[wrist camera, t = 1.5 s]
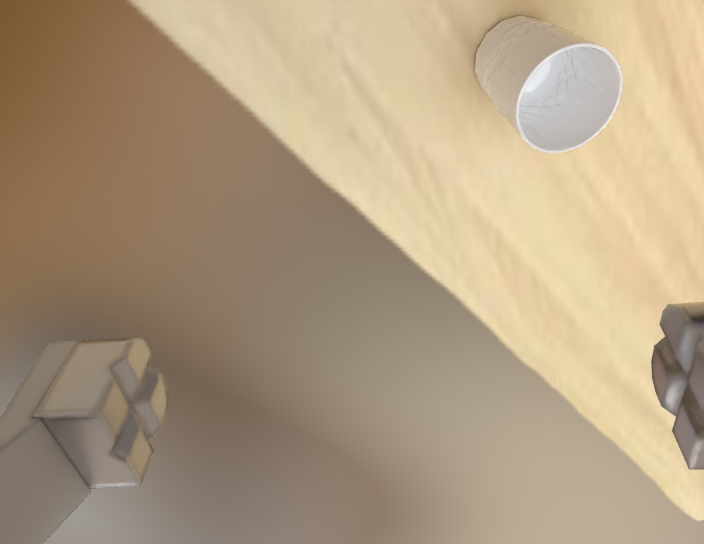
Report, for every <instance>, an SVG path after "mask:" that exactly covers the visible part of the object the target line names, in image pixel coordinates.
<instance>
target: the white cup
mask: <svg viewBox="0 0 704 544" xmlns="http://www.w3.org/2000/svg"><path fill="white" fill-rule="evenodd" d="M474 71H475V73H476V76H477V79H478V82H479V85H480V87H481V88H482V89H483V90H484V91H485V92H486V93H487V95H488V96H489V98H490V99H491V101H492V102H493V104H494V105H495V106H496V107H497V108H498V110H499V111H500V113H501V114H502V115H503V116H504V117H505V118H506V120H507V121H508V122H509V123H510V124H511V125H512V126H513V128H514V129H515V130H516V131H517V132H518V133H519V135H520V136H521V137H522V138H523V139H524V140H525V142H526V143H527V144H529V145H530V146H531V147H533V148H534V149H536V150H539V151H542V152H546V153H562V152H567V151H570V150H573V149H576V148H578V147H580V146H582V145H584V144H586V143H587V142H589V141H590V140H591V139H593V138H594V137H595V136H596V135H598V134H599V133H600V132H601V131H602V130H603V129H604V127H605V126H606V125H607V124H608V123H609V121H610V120H611V118H612V117H613V115H614V113H615V111H616V109H617V107H618V105H619V102H620V99H621V95H622V90H623V75H622V70H621V67H620V64H619V62H618V60H617V59H616V57H615V56H614V55H613V54H612V53H611V52H610V51H609V50H607V49H606V48H604V47H602V46H600V45H598V44H595V43H593V42H591V41H589V40H587V39H584V38H582V37H580V36H578V35H576V34H574V33H572V32H569V31H567V30H565V29H562V28H560V27H557V26H555V25H552V24H550V23H547V22H543V21H541V20H539V19H536V18H531V17H527V16H522V15H519V16H515V17H512V18H509V19H505V20H502V21H501V22H500V23H498V24H497V25H496V26H495V27H494V28H492V29H491V30H490V31H489V32H488V33H486V35H485V37H484V39H483V41H482V42H481V44H480V46H479V48H478V50H477V52H476V60H475V68H474Z"/></svg>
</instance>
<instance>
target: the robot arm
mask: <svg viewBox="0 0 704 544" xmlns="http://www.w3.org/2000/svg"><path fill="white" fill-rule="evenodd" d="M660 326H661V328H662V330H663V332H664V334H665V337H664V338H663V339H662V340H660V341H659V342H658V343H657V344H656V345H655V346H654V351H653V356H652V361H651V364H652V379H653V383H654V387H655V391H656V394H657V396H658V399H659V401H660V404H661V406H662V407H663V408H665V409H666V410H668V411H669V412H670V413H672V414H673V415H674V416H676V419H675V423H674V426H673V430H672V432H673V434H674V436H675V438H676V441H677V443H678V445H679V447H680V450H681V452H682V454H683V456H684V459H685V461H686V463H687V465H688V468H689V470H694V469H704V302H696V303H682V304H668V305H667V306H666V308H665V309H664V311H663V313H662V317H661V321H660ZM151 355H152V353H151V351H150V349H149V348H148V346H147V344H146V342H145V340H142V339H139V338H123V339H100V340H99V339H97V340H81V341H59V342H52V343H51V344H49V345H47V346H46V347H45V348H44V349H43V351H42V352H41V354H40V356H39V357H38V359H37V361H36V362H35V364H34V365H33V367H32V368H31V370H30V371H29V373H28V375H27V376H26V378H25V380H24V381H23V383H22V384H21V386H20V388H19V389H18V391H17V392H16V394H15V395H14V397H13V398H12V400H11V402H10V403H9V405H8V406H7V408H6V410H5V411H4V413H3V415H2V416H1V418H0V544H43V543H44V542H45V541H46V540H47V539H48V538H49V537H50V536H51V535H52V534H53V533H54V532H55V531H56V529H57V528H58V527H59V526H60V525H61V524H62V523H63V522H64V521H65V520H66V519H67V518H68V517H69V516H70V514H71V513H72V512H73V511H74V510H75V509H76V508H77V507H78V506H79V505H80V503H82V502H83V500H84V499H85V498H86V497H87V496H88V495H89V494H90V493H91V490H90V489H102V488H118V487H136V486H141V484H142V481H143V479H144V476H145V473H146V471H147V468H148V465H149V462H150V460H151V457H152V454H153V451H154V450H153V448H152V445H151V443H150V441H149V439H150V438H151V437H152V436H153V435H154V434H156V433H157V432H158V431H159V430H160V429H161V428H162V426H163V423H164V420H165V417H166V414H167V406H168V392H167V387H166V383H165V380H164V378H163V376H162V374H161V372H159V371H158V370H156V369H155V368H153V367H152V366H150V365H149V364H148V362H149V360H150V358H151Z"/></svg>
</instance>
